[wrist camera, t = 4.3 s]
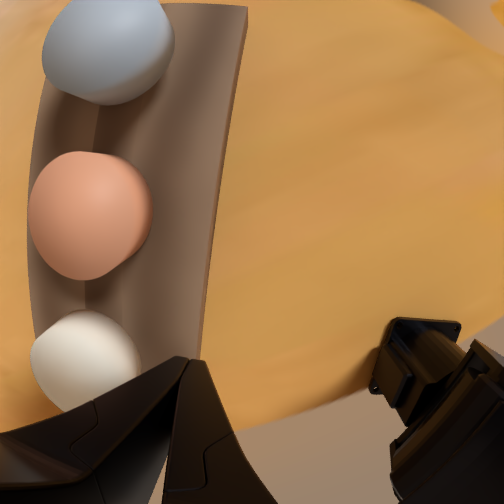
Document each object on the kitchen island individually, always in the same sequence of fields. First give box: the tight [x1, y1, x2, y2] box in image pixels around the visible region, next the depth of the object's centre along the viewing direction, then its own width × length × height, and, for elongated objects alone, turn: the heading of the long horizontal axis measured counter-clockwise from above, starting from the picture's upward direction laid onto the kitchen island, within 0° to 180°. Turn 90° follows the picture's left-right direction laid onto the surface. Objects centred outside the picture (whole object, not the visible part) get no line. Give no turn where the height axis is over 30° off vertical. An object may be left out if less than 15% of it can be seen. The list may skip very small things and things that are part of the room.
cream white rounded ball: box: [30, 309, 141, 412], centre depth 17 cm, size 6×6×6 cm
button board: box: [27, 3, 248, 374], centre depth 17 cm, size 12×25×2 cm, turn 171°
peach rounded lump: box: [28, 151, 153, 280], centre depth 16 cm, size 6×6×6 cm
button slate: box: [42, 0, 175, 106], centre depth 13 cm, size 6×6×6 cm
